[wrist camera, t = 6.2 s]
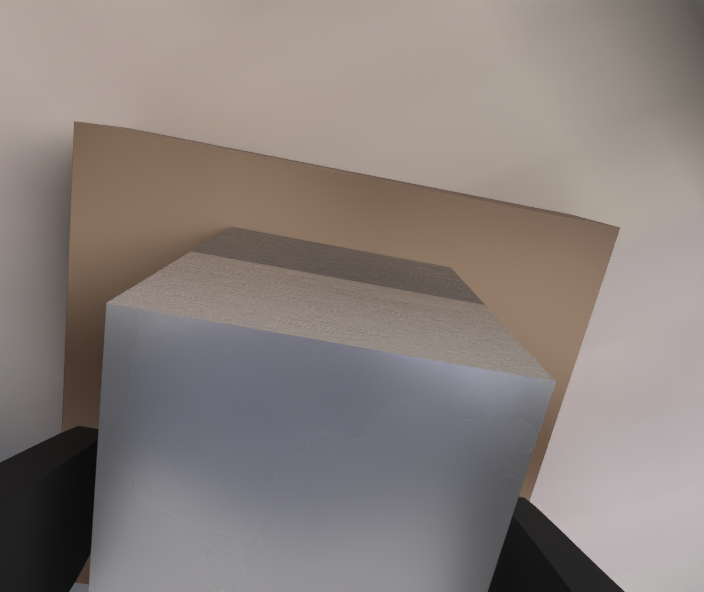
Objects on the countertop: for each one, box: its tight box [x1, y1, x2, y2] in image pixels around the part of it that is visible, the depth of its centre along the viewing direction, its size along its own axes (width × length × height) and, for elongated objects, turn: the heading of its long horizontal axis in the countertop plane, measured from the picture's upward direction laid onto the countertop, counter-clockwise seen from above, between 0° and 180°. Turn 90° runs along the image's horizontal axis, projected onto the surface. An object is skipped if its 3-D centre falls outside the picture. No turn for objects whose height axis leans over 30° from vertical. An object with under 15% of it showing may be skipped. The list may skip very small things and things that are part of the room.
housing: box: [89, 227, 556, 592], centre depth 9 cm, size 8×5×6 cm, turn 169°
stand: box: [62, 121, 620, 584], centre depth 14 cm, size 12×12×2 cm
